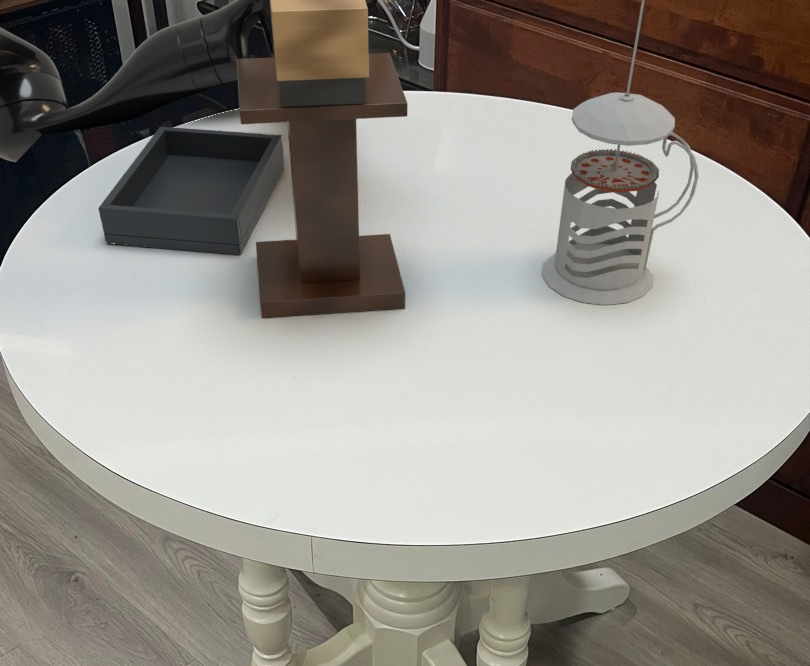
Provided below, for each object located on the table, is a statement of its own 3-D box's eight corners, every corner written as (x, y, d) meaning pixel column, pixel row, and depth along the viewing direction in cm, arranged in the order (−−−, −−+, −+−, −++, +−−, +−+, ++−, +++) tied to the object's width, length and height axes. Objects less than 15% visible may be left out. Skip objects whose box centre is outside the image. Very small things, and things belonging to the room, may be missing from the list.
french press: (536, 246, 91) (572, -64, 73) (662, 247, 91) (729, -62, 73) (547, 304, 84) (589, -23, 66) (683, 305, 84) (762, -20, 66)
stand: (261, 318, 82) (239, 110, 70) (257, 256, 89) (236, 58, 77) (405, 308, 83) (407, 102, 71) (389, 248, 90) (389, 52, 78)
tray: (240, 255, 89) (236, 218, 87) (105, 244, 90) (97, 208, 88) (284, 168, 102) (282, 134, 99) (165, 160, 103) (159, 126, 100)
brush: (279, 110, 70) (269, -14, 64) (270, 19, 83) (261, -91, 78) (369, 106, 71) (367, -17, 65) (345, 16, 84) (342, -93, 78)
